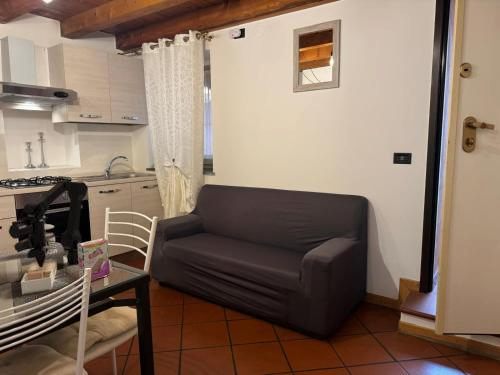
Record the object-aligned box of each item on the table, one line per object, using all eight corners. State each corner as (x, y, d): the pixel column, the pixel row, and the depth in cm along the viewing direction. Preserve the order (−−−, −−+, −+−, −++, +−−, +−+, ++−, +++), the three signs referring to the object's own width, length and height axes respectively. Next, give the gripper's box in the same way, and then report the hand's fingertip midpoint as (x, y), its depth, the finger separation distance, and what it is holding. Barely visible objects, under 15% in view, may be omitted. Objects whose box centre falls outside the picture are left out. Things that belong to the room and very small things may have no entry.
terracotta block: (42, 270, 143) (41, 272, 141) (43, 281, 144) (42, 284, 141) (28, 272, 141) (27, 274, 139) (30, 283, 142) (28, 286, 140)
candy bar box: (85, 284, 142) (81, 246, 139) (79, 281, 145) (76, 243, 143) (110, 275, 150) (107, 239, 148) (104, 273, 153) (102, 237, 151)
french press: (62, 250, 186) (58, 205, 182) (41, 257, 176) (36, 209, 172) (50, 248, 190) (46, 204, 187) (29, 254, 180) (24, 208, 176)
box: (54, 279, 147) (53, 268, 146) (51, 289, 137) (50, 277, 137) (26, 284, 143) (25, 272, 142) (22, 294, 133) (20, 282, 132)
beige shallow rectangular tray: (57, 267, 161) (56, 259, 161) (54, 279, 147) (53, 270, 147) (32, 270, 157) (31, 262, 157) (26, 283, 143) (25, 274, 142)
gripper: (18, 229, 151) (22, 263, 153) (10, 240, 134) (14, 278, 136) (47, 226, 156) (51, 259, 158) (43, 236, 139) (47, 273, 141)
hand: (41, 266), depth 148 cm, fingers closed
